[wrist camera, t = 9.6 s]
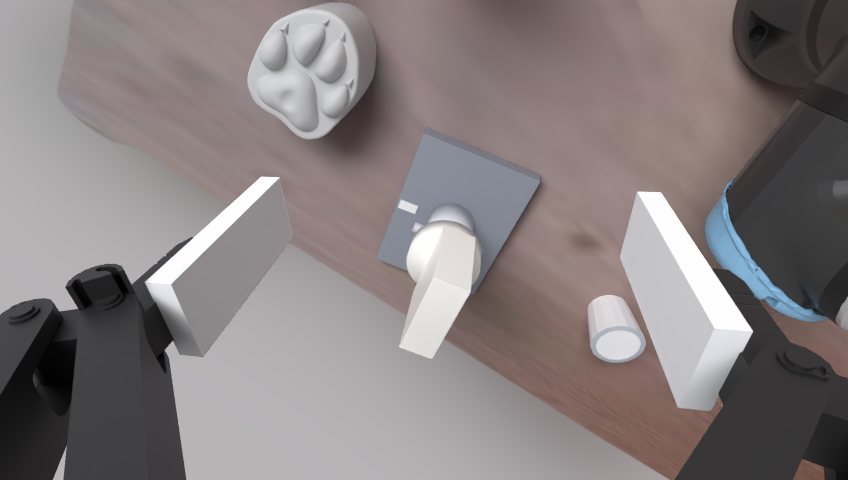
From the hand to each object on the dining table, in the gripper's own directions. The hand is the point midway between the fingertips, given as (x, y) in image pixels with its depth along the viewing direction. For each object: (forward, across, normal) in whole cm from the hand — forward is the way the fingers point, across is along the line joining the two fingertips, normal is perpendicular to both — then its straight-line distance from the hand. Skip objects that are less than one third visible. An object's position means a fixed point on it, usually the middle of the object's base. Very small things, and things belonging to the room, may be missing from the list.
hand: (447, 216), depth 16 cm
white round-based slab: (+28, -4, -22) cm, 36 cm away
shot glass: (+37, +19, -35) cm, 55 cm away
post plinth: (+36, -3, -21) cm, 42 cm away
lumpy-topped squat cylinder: (+36, -18, -1) cm, 40 cm away
